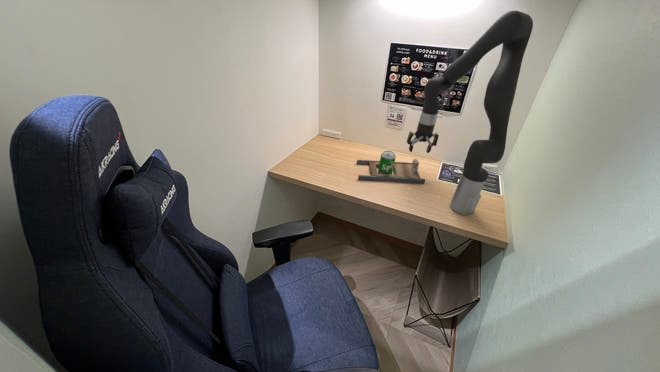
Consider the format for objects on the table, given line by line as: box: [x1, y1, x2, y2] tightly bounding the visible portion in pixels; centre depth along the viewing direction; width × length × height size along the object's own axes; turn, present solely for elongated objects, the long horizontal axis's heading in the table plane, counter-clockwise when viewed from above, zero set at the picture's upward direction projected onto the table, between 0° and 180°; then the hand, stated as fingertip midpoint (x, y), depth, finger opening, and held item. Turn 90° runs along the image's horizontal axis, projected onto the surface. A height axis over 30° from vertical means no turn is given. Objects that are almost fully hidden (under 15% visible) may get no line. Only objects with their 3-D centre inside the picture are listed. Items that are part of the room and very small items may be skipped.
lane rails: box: [356, 159, 426, 185], centre depth 139 cm, size 34×17×2 cm, turn 88°
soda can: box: [377, 150, 397, 175], centre depth 137 cm, size 8×8×12 cm
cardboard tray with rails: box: [368, 158, 421, 178], centre depth 138 cm, size 25×14×8 cm, turn 88°
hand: (418, 151), depth 132 cm, fingers open, 8 cm apart
